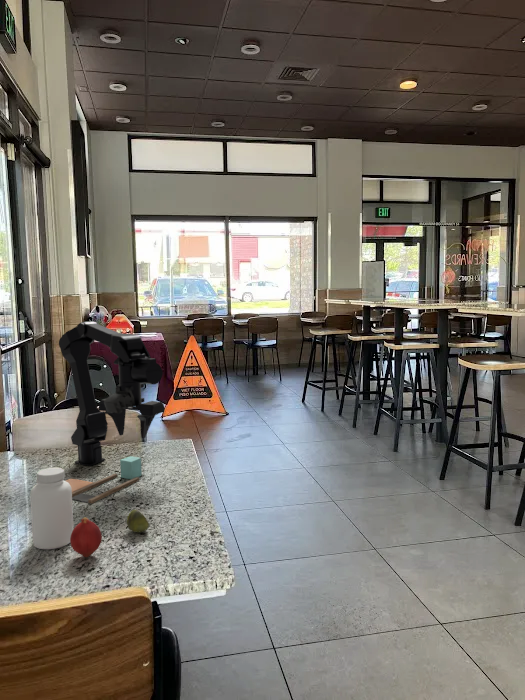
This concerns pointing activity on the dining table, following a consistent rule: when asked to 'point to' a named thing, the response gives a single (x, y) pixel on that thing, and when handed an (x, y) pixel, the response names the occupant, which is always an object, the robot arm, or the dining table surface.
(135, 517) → the lime
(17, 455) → the dining table surface
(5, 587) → the dining table surface
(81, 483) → the tile
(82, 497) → the chute
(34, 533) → the pill bottle
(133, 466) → the block
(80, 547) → the onion
